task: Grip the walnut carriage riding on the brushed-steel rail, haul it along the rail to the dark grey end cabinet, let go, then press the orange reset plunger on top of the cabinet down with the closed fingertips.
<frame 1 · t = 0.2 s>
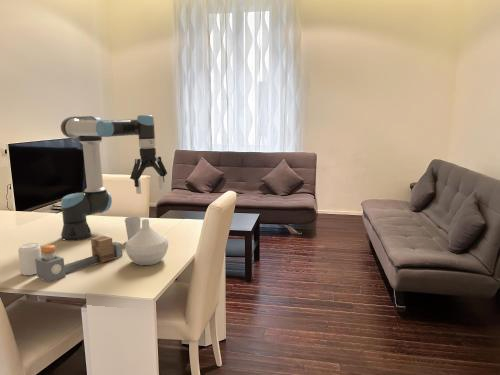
hand: (150, 191, 201), 28 cm above the table, fingers open, 13 cm apart
beverage can: (32, 273, 173), on the table
cup: (134, 240, 216), on the table
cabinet: (51, 277, 168), on the table
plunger: (49, 255, 166), point 9 cm above the table, slide at 0.0 cm
carriage: (102, 248, 186), point 5 cm above the table, slide at 0.0 cm
vase: (148, 262, 183), on the table
rail: (88, 265, 181), on the table
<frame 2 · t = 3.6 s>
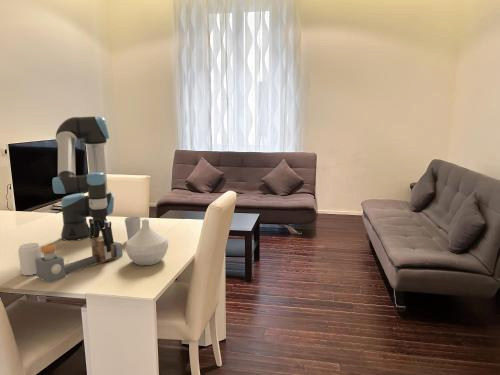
hand: (103, 256, 186), 2 cm above the table, fingers closed on carriage, 7 cm apart
carriage: (102, 248, 186), point 5 cm above the table, slide at 0.0 cm, touching gripper
everything else where it was.
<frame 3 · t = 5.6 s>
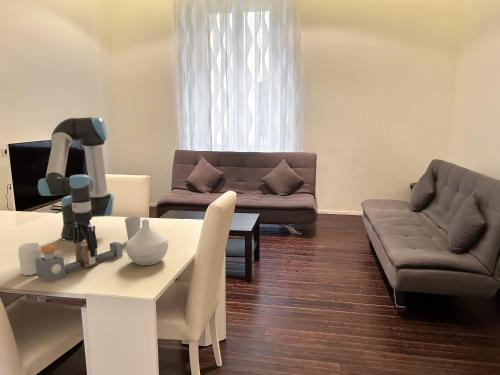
hand: (87, 262, 180), 2 cm above the table, fingers closed on carriage, 7 cm apart
carriage: (86, 253, 180), point 5 cm above the table, slide at 7.9 cm, touching gripper
everything else where it was.
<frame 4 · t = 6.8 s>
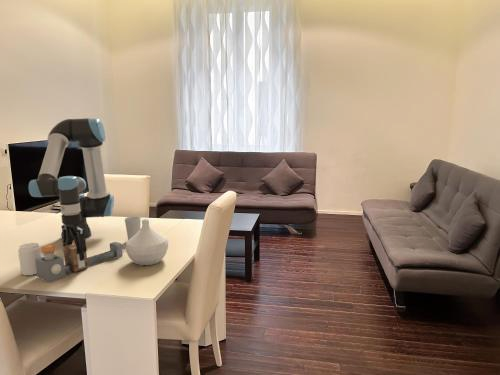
hand: (76, 265, 176), 2 cm above the table, fingers closed on carriage, 7 cm apart
carriage: (75, 257, 176), point 5 cm above the table, slide at 12.9 cm, touching gripper
everything else where it was.
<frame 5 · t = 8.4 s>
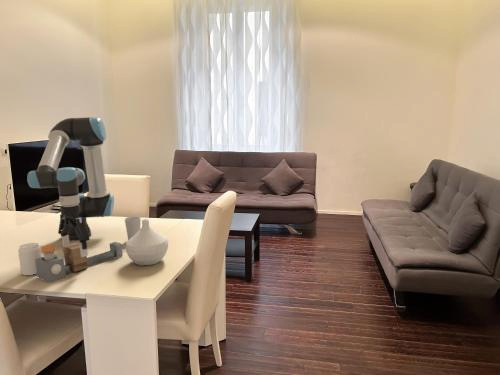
hand: (75, 253, 176), 7 cm above the table, fingers open, 13 cm apart
carriage: (75, 257, 176), point 5 cm above the table, slide at 13.0 cm
everything else where it was.
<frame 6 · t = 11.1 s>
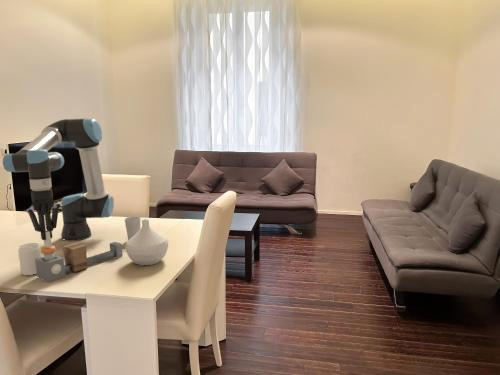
hand: (47, 246, 166), 13 cm above the table, fingers closed
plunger: (49, 256, 166), point 9 cm above the table, slide at 0.2 cm, touching gripper
everything else where it was.
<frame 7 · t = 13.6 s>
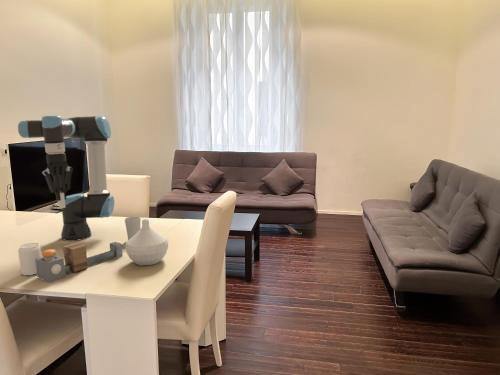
hand: (62, 207, 178), 26 cm above the table, fingers closed
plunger: (49, 260, 167), point 7 cm above the table, slide at 1.8 cm
everything else where it was.
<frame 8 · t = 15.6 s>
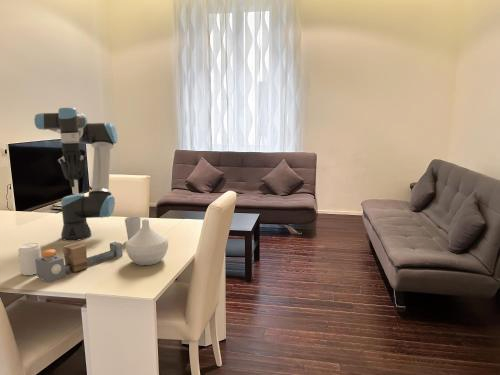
hand: (75, 193, 190), 29 cm above the table, fingers closed
nothing on the table moved.
at the end: carriage slide at 13.0 cm; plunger slide at 1.8 cm; the gripper is holding nothing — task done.
